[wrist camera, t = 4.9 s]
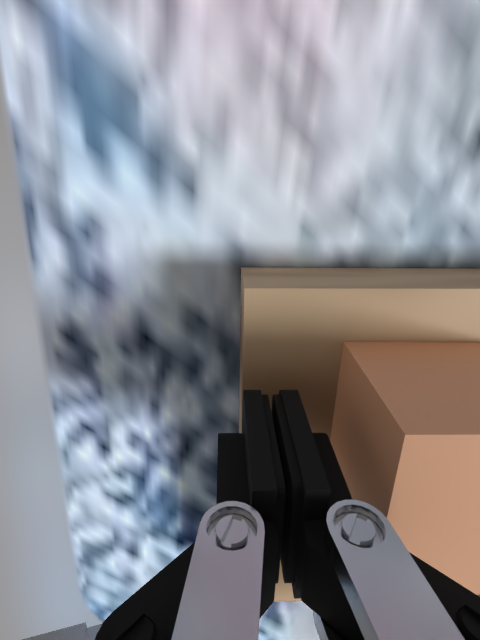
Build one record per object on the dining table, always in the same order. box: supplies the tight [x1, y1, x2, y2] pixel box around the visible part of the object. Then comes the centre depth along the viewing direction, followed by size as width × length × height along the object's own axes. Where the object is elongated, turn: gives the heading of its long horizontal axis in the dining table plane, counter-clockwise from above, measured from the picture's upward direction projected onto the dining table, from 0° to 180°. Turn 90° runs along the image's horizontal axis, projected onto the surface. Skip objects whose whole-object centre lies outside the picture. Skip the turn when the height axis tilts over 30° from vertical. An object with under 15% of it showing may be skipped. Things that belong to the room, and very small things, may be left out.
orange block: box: [330, 341, 480, 595], centre depth 11 cm, size 5×5×4 cm
